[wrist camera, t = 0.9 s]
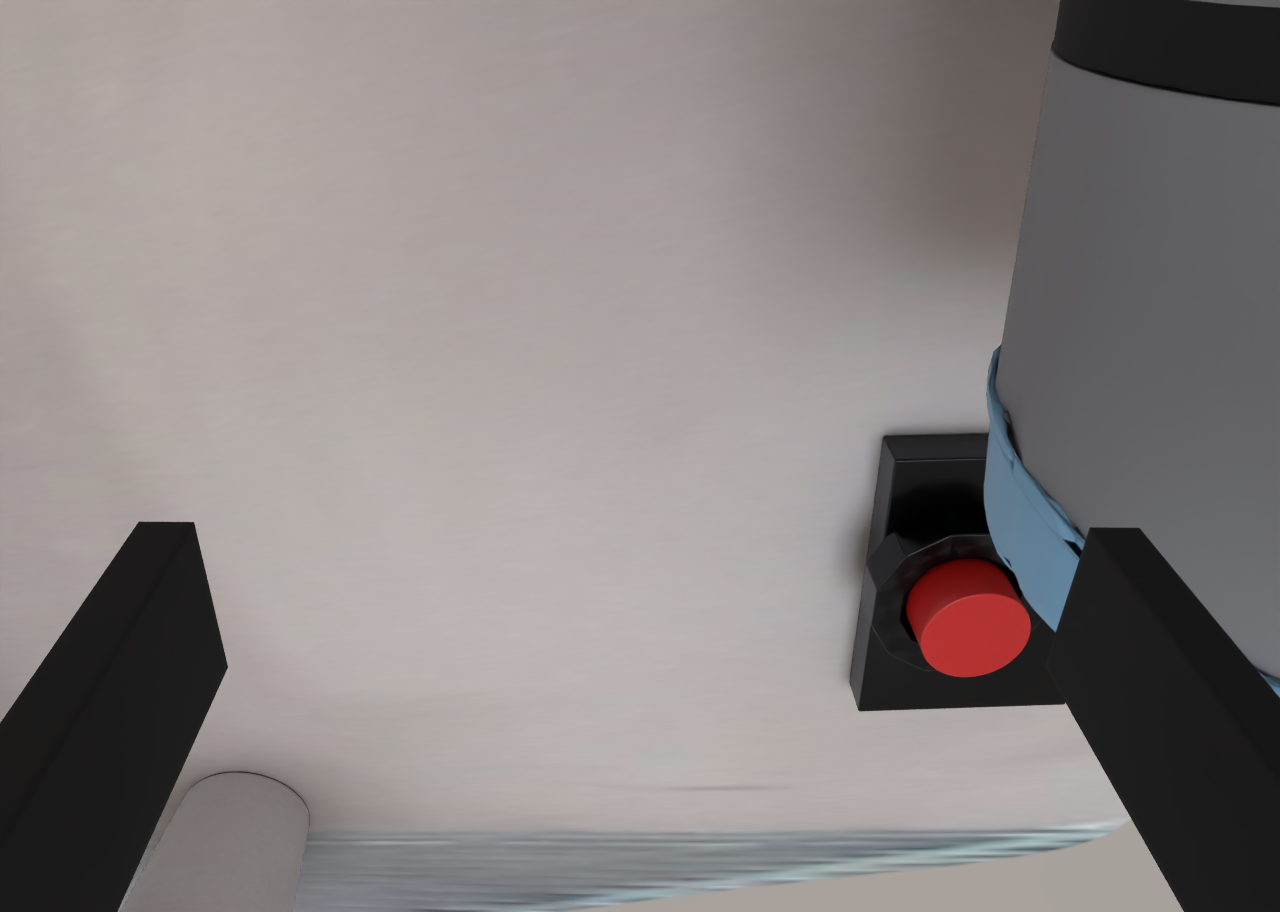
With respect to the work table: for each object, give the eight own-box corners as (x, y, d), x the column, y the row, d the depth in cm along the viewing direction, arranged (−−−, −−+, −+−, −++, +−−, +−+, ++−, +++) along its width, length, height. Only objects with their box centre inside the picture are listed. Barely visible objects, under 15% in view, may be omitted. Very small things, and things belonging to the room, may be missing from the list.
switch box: (867, 436, 42) (892, 487, 38) (1116, 429, 42) (1163, 480, 39) (835, 682, 49) (854, 744, 45) (1048, 675, 49) (1083, 736, 46)
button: (913, 559, 41) (929, 595, 39) (1019, 556, 41) (1041, 592, 39) (899, 641, 43) (914, 679, 41) (1000, 637, 43) (1019, 676, 41)
